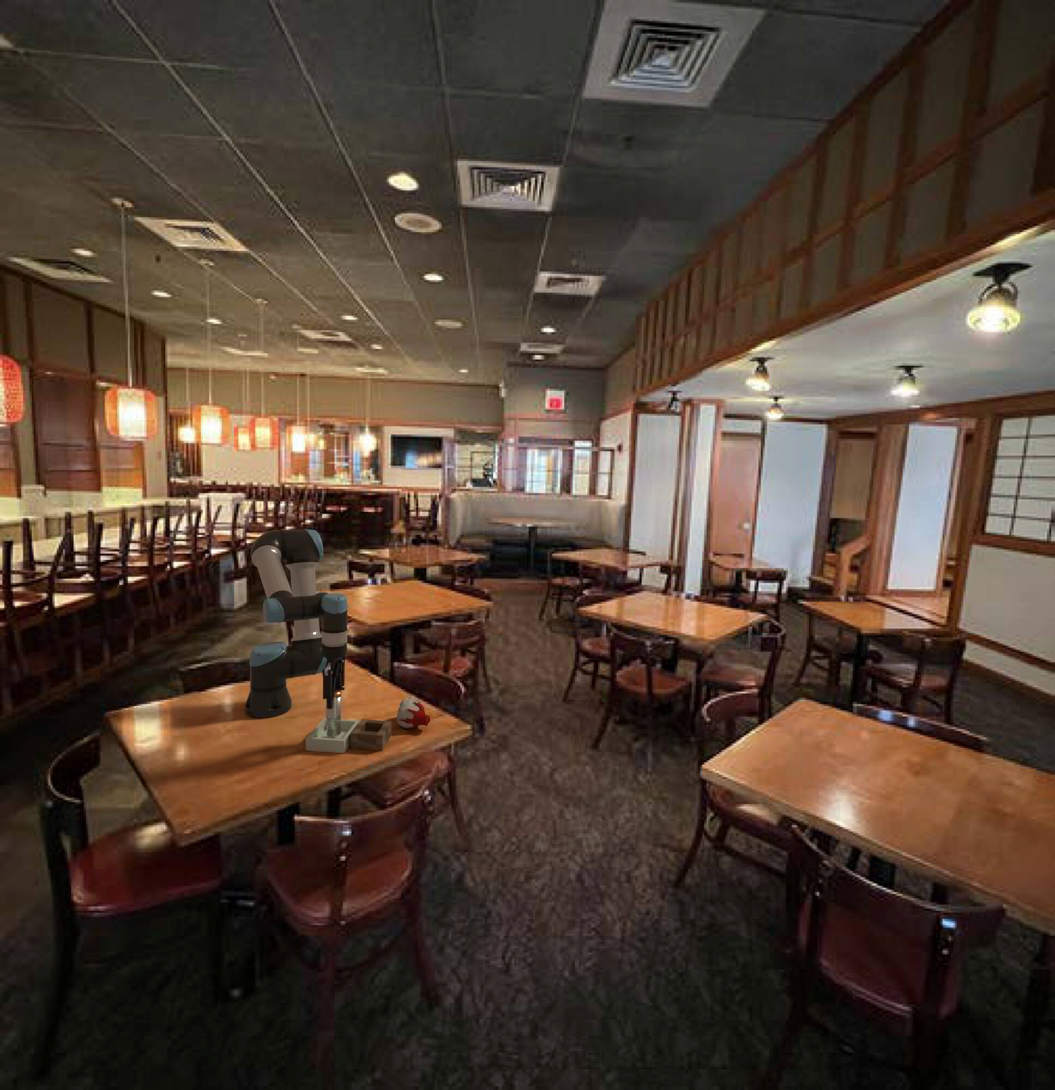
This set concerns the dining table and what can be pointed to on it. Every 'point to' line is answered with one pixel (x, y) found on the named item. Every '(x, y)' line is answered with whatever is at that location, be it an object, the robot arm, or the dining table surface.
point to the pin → (335, 723)
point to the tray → (331, 744)
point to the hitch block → (371, 735)
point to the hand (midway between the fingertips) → (333, 713)
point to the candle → (412, 713)
